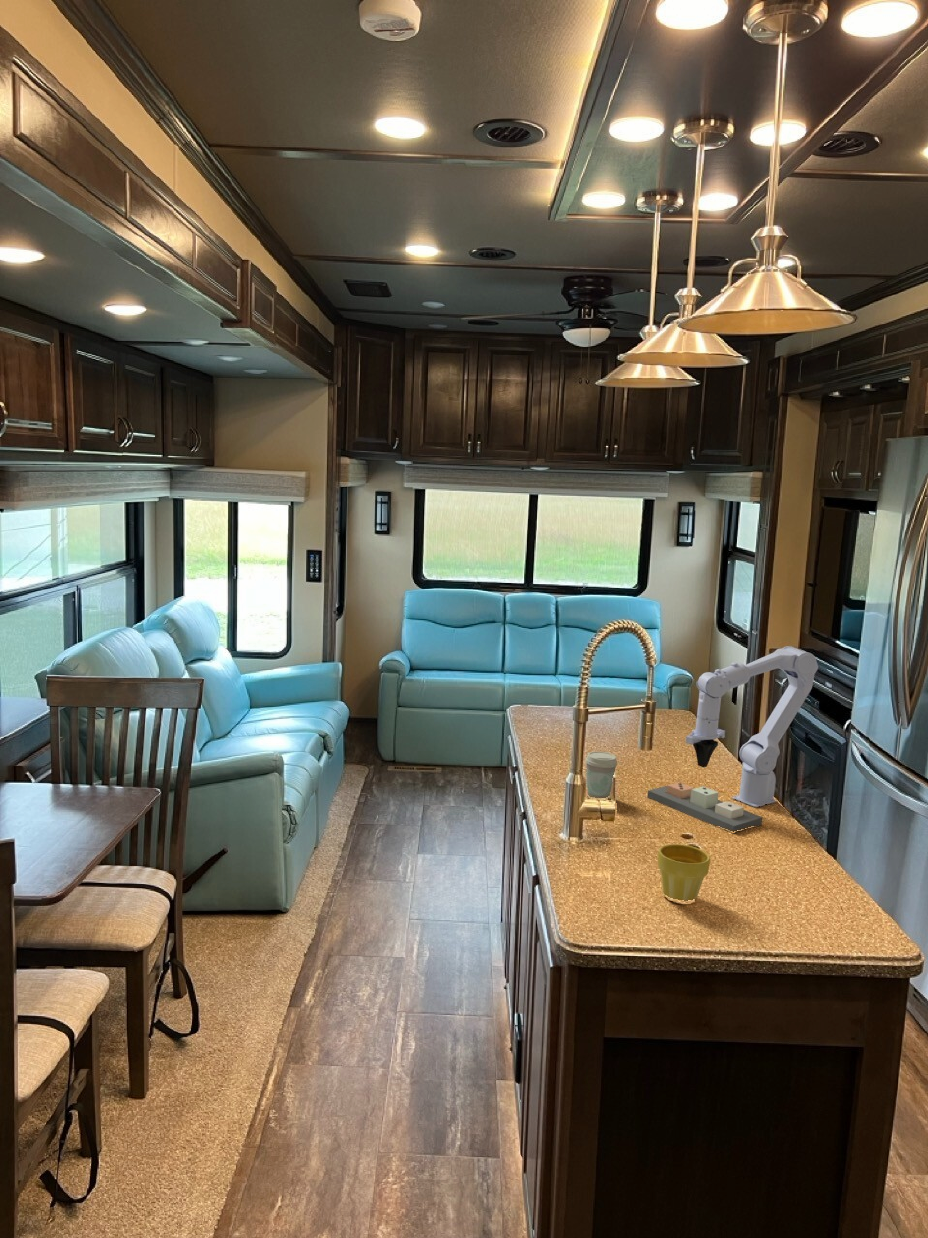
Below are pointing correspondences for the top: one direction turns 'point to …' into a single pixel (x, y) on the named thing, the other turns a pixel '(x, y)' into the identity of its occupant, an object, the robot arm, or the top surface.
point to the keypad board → (704, 811)
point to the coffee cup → (600, 773)
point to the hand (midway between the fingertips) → (702, 766)
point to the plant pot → (682, 870)
